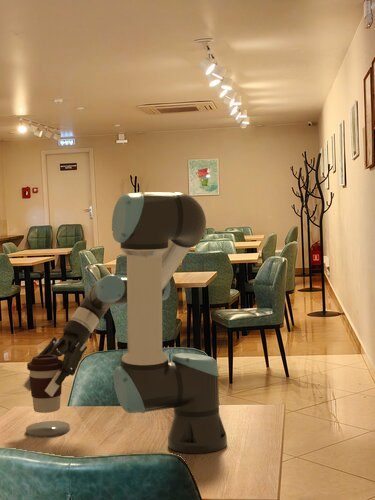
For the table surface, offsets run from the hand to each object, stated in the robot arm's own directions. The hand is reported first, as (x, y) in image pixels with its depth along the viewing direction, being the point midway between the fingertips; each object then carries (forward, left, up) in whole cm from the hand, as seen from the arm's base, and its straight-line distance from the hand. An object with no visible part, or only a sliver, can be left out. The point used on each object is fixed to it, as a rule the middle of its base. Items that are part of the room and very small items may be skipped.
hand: (37, 390), depth 202 cm
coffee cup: (+1, -3, -6) cm, 7 cm away
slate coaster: (+1, -3, -12) cm, 12 cm away
